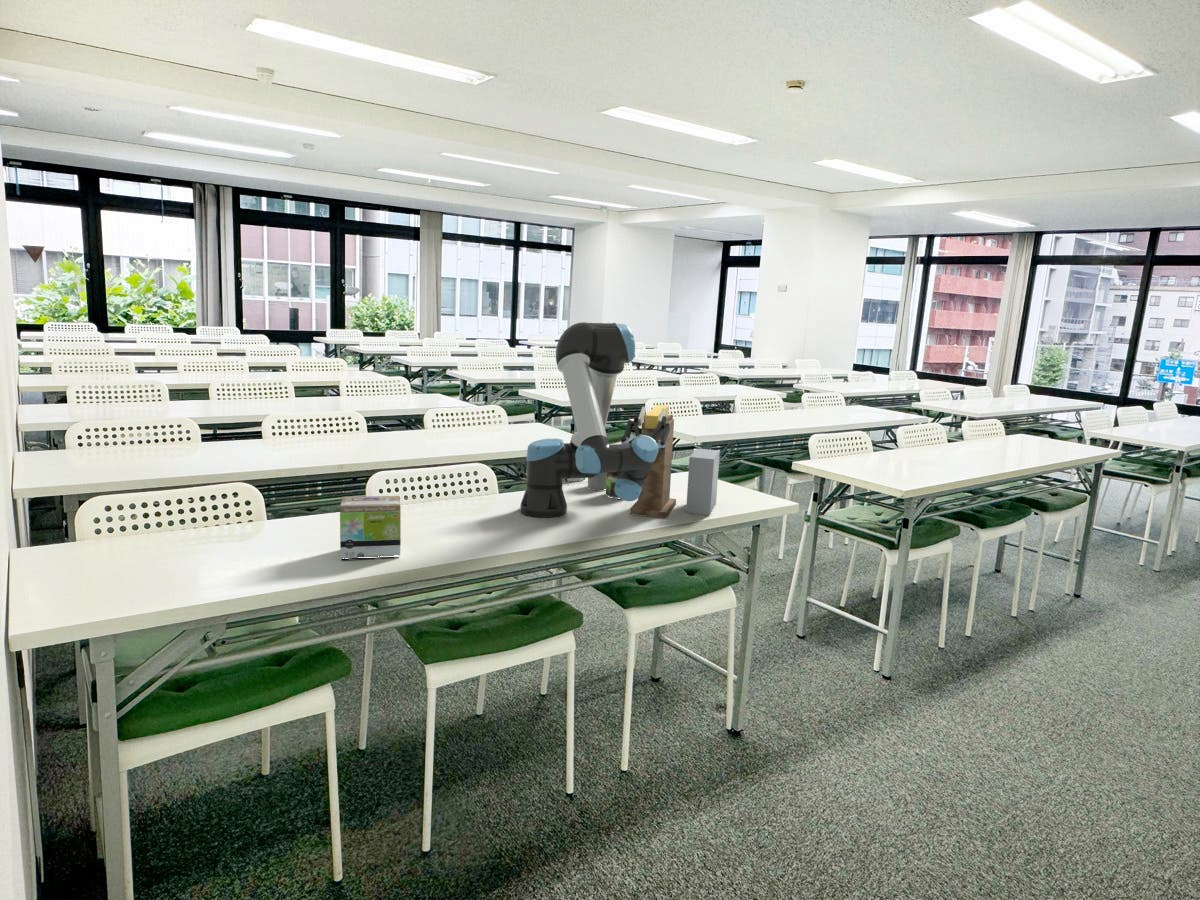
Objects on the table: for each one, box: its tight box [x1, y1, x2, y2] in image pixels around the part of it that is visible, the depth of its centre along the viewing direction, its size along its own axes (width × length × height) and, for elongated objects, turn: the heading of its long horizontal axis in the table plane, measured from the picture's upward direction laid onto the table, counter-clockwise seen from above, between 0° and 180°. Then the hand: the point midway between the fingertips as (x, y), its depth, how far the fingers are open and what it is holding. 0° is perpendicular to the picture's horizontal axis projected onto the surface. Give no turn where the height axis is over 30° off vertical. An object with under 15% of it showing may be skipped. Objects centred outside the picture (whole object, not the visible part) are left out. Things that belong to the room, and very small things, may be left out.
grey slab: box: [685, 448, 721, 516], centre depth 251 cm, size 8×16×19 cm, turn 164°
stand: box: [629, 413, 677, 519], centre depth 246 cm, size 12×18×32 cm, turn 164°
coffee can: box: [605, 472, 619, 499], centre depth 264 cm, size 10×10×14 cm
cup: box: [587, 472, 607, 491], centre depth 275 cm, size 8×8×10 cm
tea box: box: [339, 495, 402, 559], centre depth 195 cm, size 15×10×15 cm, turn 106°
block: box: [644, 404, 670, 429], centre depth 240 cm, size 4×26×4 cm, turn 168°
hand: (653, 410), depth 235 cm, fingers open, 6 cm apart
